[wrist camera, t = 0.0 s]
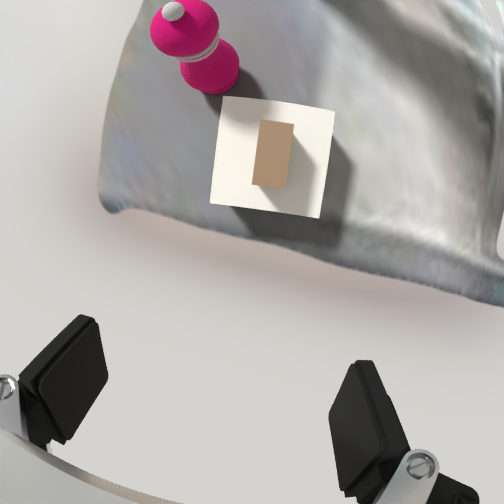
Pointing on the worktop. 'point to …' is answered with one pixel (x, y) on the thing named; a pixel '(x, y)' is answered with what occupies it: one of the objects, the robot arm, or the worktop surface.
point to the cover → (272, 156)
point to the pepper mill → (196, 45)
